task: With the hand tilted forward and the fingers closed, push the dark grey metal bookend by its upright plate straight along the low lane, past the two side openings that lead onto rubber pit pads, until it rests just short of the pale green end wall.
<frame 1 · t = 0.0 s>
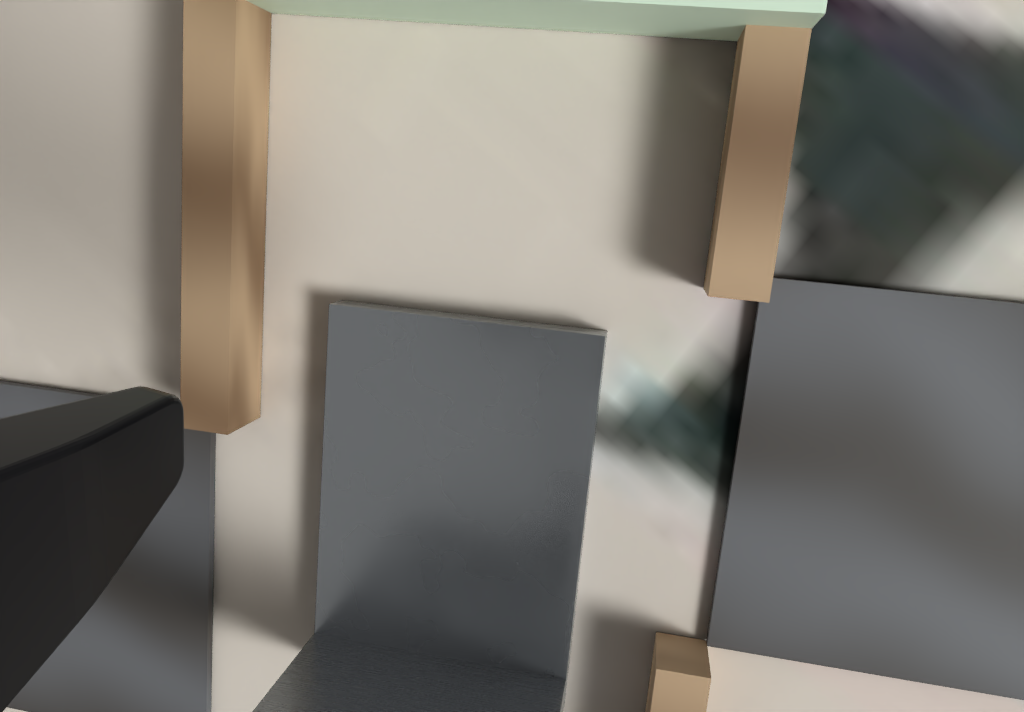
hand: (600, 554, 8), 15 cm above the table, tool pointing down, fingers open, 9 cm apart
trap lane: (455, 507, 25), on the table
bookend: (456, 506, 25), on the table
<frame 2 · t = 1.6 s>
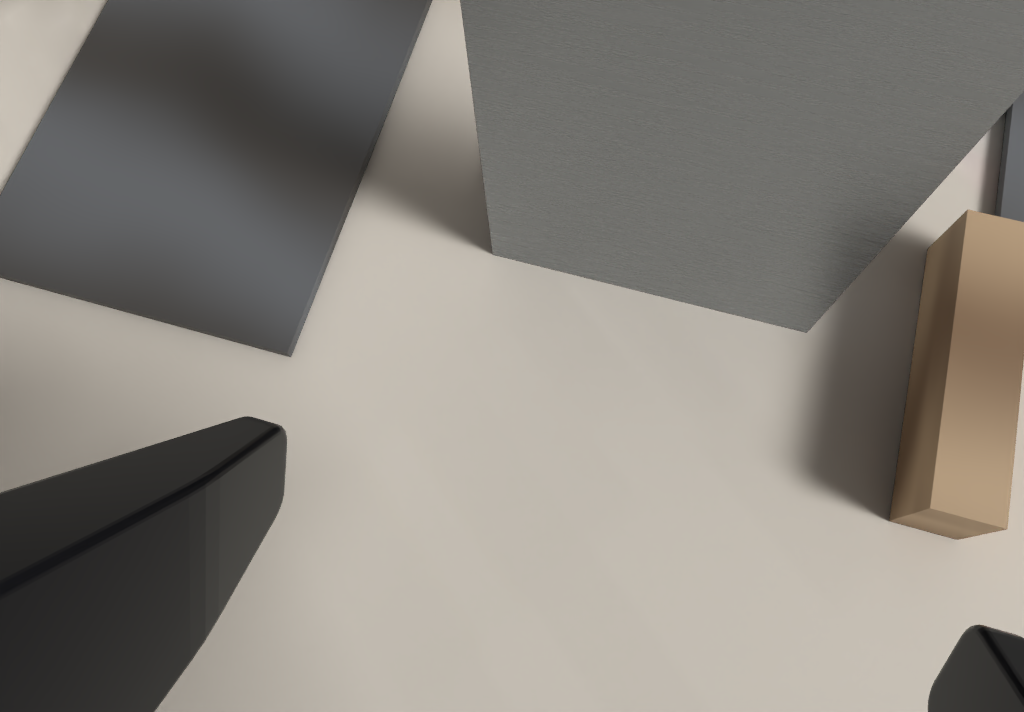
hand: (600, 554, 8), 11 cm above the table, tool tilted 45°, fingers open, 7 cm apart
trap lane: (696, 95, 22), on the table
bookend: (696, 97, 22), on the table
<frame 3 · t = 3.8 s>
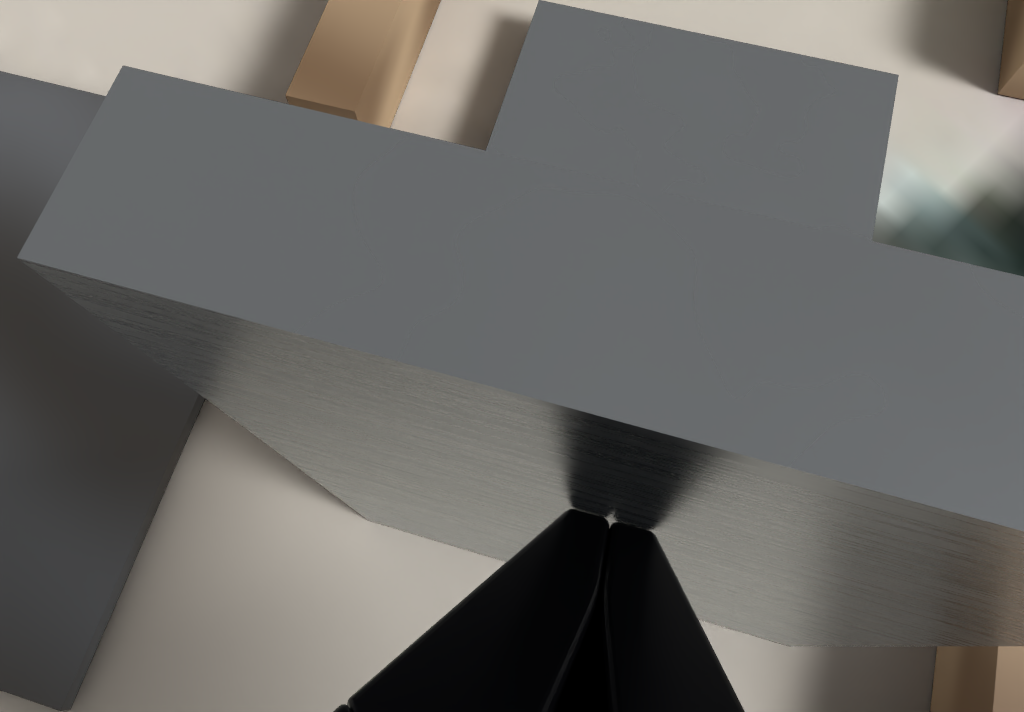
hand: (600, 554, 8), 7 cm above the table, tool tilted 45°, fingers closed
trap lane: (638, 319, 16), on the table
bookend: (646, 294, 17), on the table
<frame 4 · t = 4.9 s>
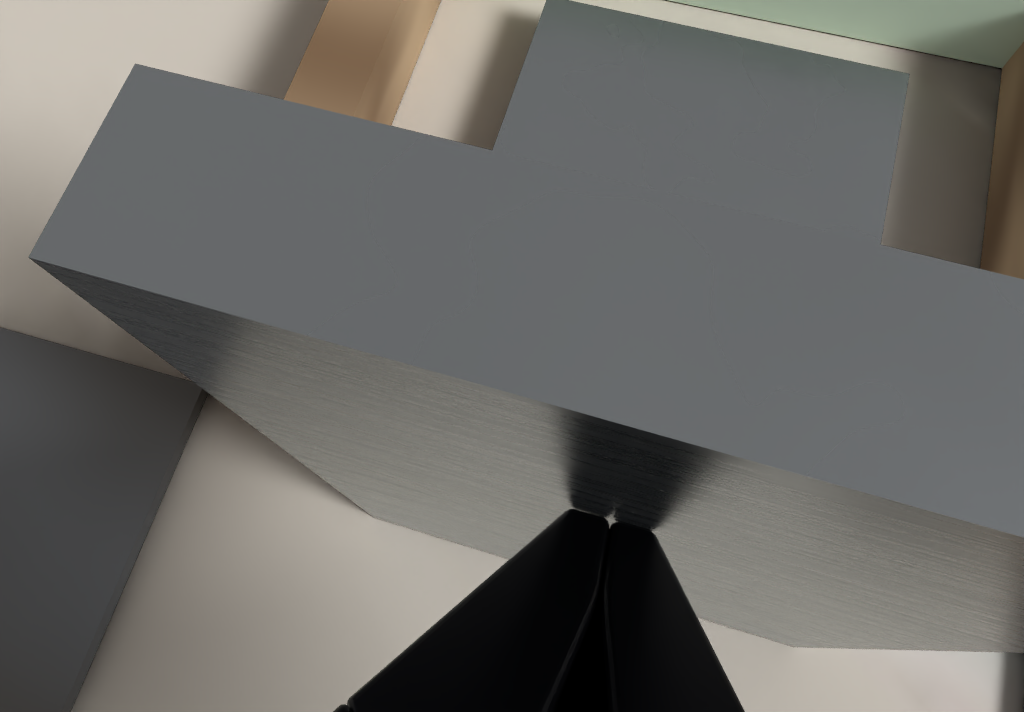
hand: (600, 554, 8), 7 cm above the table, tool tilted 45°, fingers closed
trap lane: (566, 603, 15), on the table
bookend: (653, 293, 17), on the table
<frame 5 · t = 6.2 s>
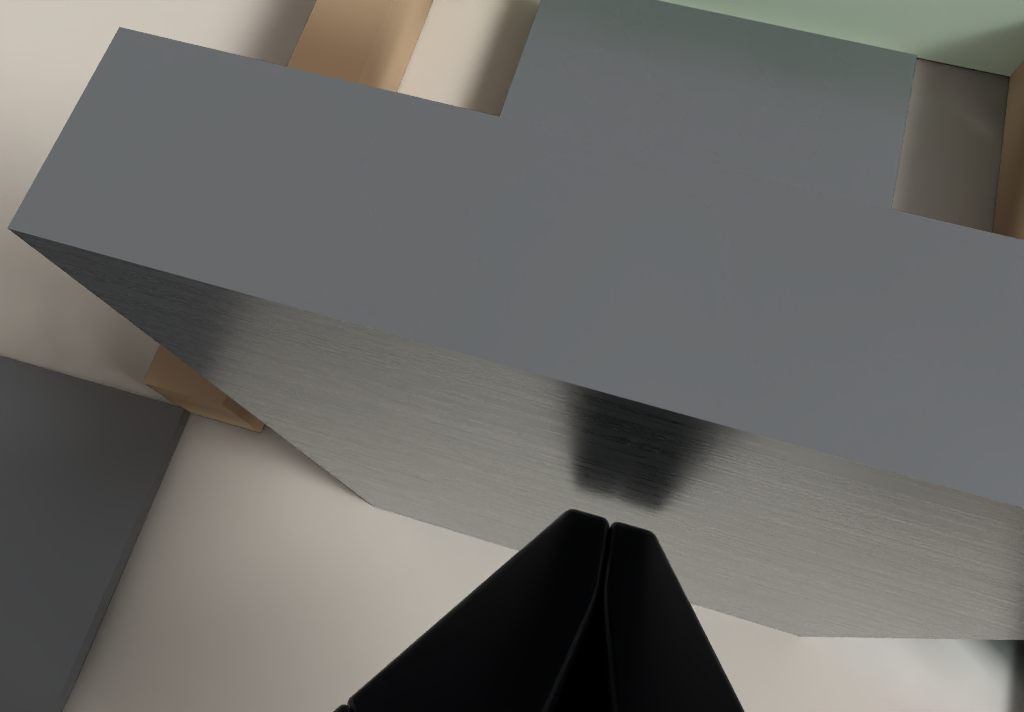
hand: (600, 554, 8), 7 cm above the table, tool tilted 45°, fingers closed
trap lane: (558, 636, 14), on the table
bookend: (656, 279, 16), on the table
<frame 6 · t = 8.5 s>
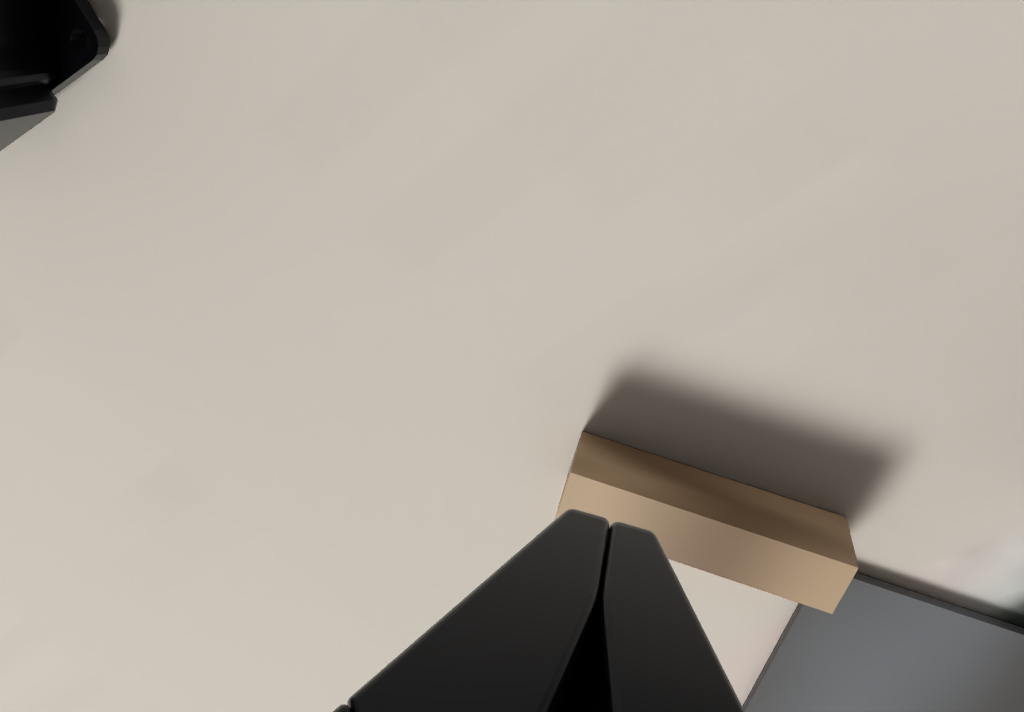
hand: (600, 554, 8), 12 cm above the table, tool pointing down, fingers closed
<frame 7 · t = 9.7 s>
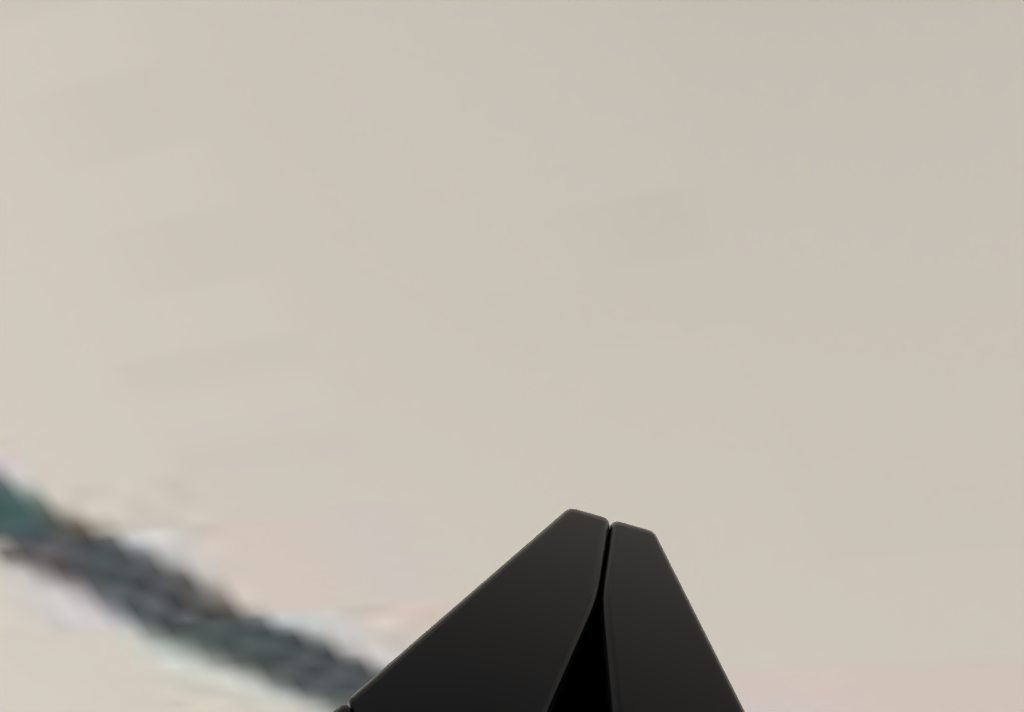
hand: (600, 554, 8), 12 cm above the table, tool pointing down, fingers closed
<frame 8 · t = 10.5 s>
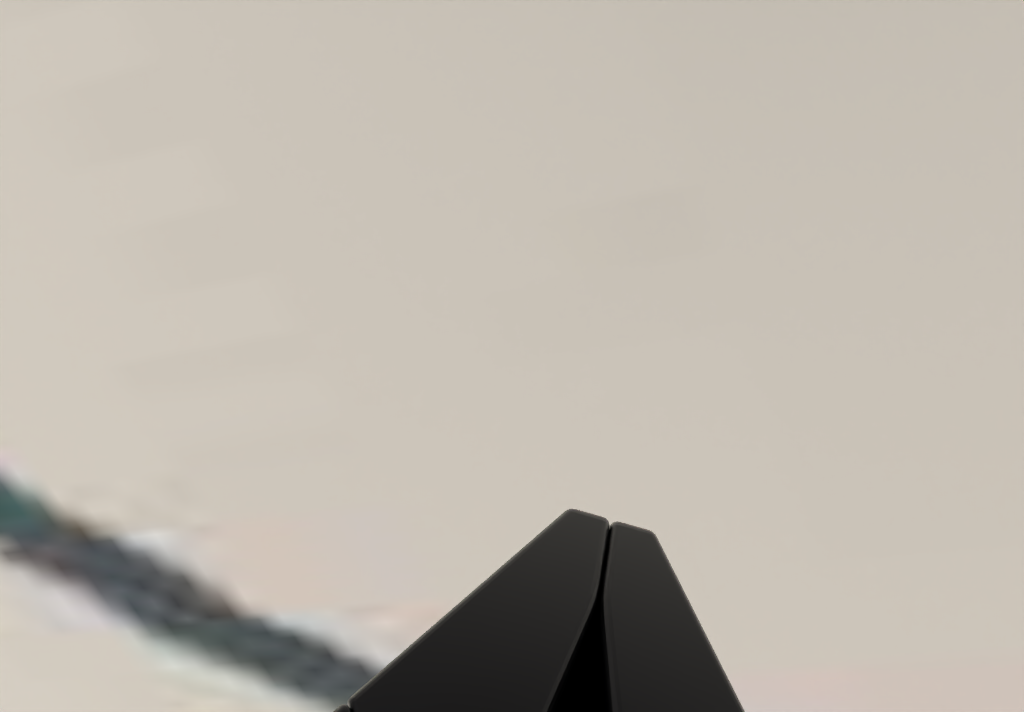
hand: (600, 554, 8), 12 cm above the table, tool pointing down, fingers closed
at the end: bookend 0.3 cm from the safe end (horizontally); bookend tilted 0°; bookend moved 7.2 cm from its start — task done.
